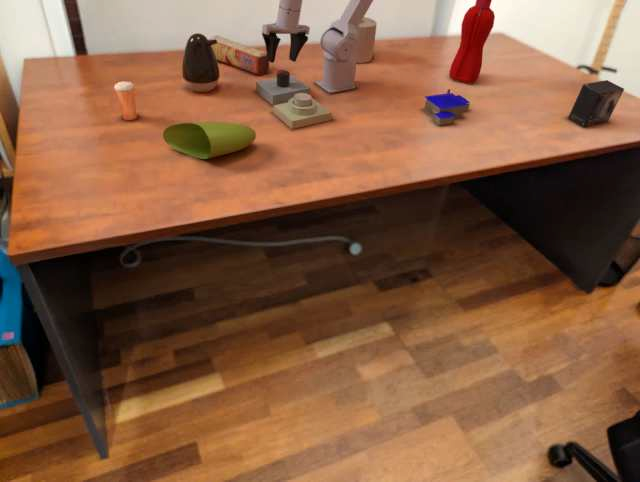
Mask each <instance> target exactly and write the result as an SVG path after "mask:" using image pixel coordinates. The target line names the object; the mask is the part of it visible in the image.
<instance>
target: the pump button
mask: <svg viewBox="0 0 640 482" xmlns="http://www.w3.org/2000/svg"><path fill="white" fill-rule="evenodd" d="M312 98H313V97H312V95H311V94H310V95H309V94H306V93H297V94H295V95H294V105H296V106H299V107H308V106H311V100H312Z"/></svg>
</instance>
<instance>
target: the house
mask: <svg viewBox="0 0 640 482" xmlns="http://www.w3.org/2000/svg"><path fill="white" fill-rule="evenodd" d="M423 97H424V98H425V99H426V100H425V104H424V109H423V111H424V112H426V114H428V116H430V117H431V118H433V122H434V123H435V124H437V125H438V126H445V125H452V124H453V122H454V119H461V118H463V115H464V112H468V111H469V108H470V103H471V102H470V100H468V99H466V98H465V97H464V96H462V95H460V94H457V95H456V94H455V93H453V92H451V89H450V88H449V89H447V92H446V93H441V94H435V95H434V94H433V95H426V96H425V95H424V96H423Z"/></svg>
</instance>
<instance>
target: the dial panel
mask: <svg viewBox="0 0 640 482" xmlns="http://www.w3.org/2000/svg"><path fill="white" fill-rule="evenodd" d="M255 90H256V91H255V92H256V93H257V94H259V96H260V97H262V98H263V99H264V100H266V102H268V103H269V104H270V105H272V106H273V105H278V104H283V103H288V100H290V99H291V98H293V97H294V95H295V94H297V93H306V94H309V95H311V94H310V93H311V87H310V86H308V85H306V84H305V83H304V82H303V81H301V80H299V79H298V78H297V77H296V76H294V75H290V81H289V86H288V87H279V86H277V77H275V78H270V79H263V80H258V81H256V82H255Z"/></svg>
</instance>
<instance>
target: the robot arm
mask: <svg viewBox="0 0 640 482" xmlns="http://www.w3.org/2000/svg"><path fill="white" fill-rule="evenodd" d="M373 2H374V0H349V1H348V4H347V5H346V7H345V9H344V11H343V13H342V14H341V16H340V18H339V19H336V20H335V21H332V22H331V24H330V26H329V27H328V28H327V29H326V30H324V32H323V33H322V34H321V36H320V41H319V42H320V47H321V48H322V50H323V63H322V77H321V80H318V81H316V82H315V84H316V85H317V86H319V87H320V88H321V89H323V90H324V91H326V92H327V93H328V94H333V93H338V92H343V91H348V90H354V89H356V85H355V80H356V71H357V63H356V62H355V59H354V57H353V56H352V55H353V53H354V49H355V45H356V43H357V41H358V35H357V28H358V26H359V24H360V23H361V21H362V19H363V17H366V16H365V15H366V14H367V12H368V10H369V9H370V7H371V5H372V4H373ZM302 5H303V0H279V3H278V9H277V18H276V20H275V22H273V23H268V24H262V27H261V36H262V38H263V41H264V45H265V49H266V50H265V51H266V53H267V60H268V61H269V63H272V64H273V63H275V60H276V55H277V50H278V47H279V44H280V42H281V40H282V39H281V38H280V37H278V35H289V36H290V47H289V55H288V59H289V61H291V62H293V63H295V62H296V61H297V59H298V57H299V54H300V52H301V50H302V49H303V48H304V46H305V45H306V43H307V42H308V41H309V36H308V35H309V34H310V29H311V27H310V26H308V25H306V24H299V23H300V18H301V12H302ZM342 34H344V35H342Z"/></svg>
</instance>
